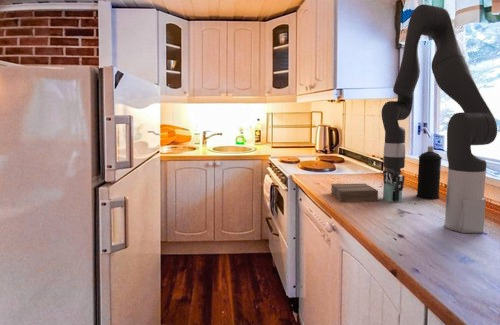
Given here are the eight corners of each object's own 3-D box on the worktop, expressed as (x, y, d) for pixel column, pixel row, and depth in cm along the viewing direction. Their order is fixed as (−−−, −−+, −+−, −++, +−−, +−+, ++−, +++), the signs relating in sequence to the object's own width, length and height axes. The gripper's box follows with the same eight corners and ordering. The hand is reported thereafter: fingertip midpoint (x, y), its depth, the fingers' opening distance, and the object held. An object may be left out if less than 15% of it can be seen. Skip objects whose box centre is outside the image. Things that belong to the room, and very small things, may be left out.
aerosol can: (426, 200, 138) (429, 147, 135) (411, 195, 146) (414, 145, 143) (444, 198, 140) (447, 146, 138) (428, 193, 148) (431, 145, 145)
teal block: (401, 201, 136) (402, 186, 135) (388, 202, 136) (389, 186, 135) (395, 198, 141) (396, 183, 140) (383, 198, 141) (383, 183, 140)
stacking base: (377, 201, 138) (378, 190, 137) (341, 201, 137) (341, 191, 136) (364, 192, 151) (364, 183, 151) (331, 193, 151) (331, 184, 150)
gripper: (413, 157, 129) (410, 203, 132) (395, 152, 144) (393, 194, 146) (392, 157, 129) (390, 204, 131) (376, 153, 143) (375, 195, 146)
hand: (392, 199), depth 139 cm, fingers closed on teal block, 5 cm apart
